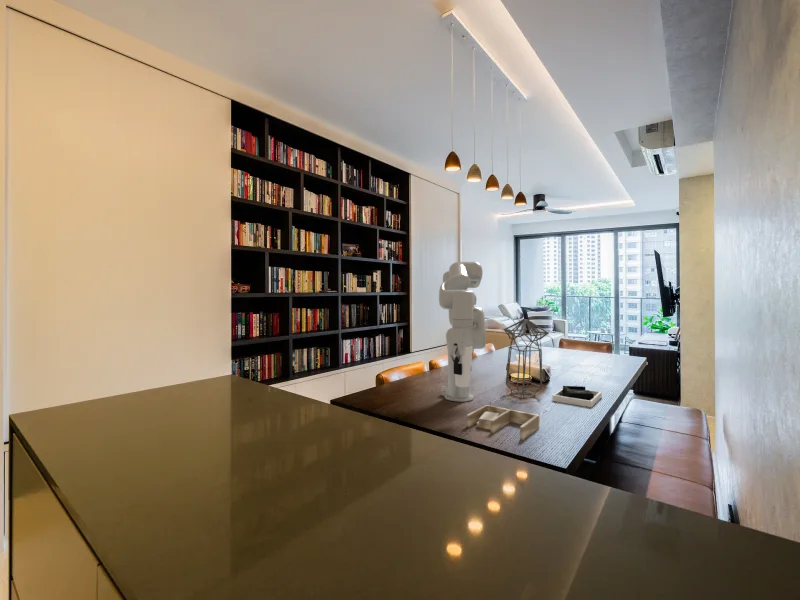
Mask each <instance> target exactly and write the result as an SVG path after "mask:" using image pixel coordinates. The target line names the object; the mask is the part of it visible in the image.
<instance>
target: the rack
mask: <svg viewBox="0 0 800 600" xmlns="http://www.w3.org/2000/svg"><path fill="white" fill-rule="evenodd" d="M485 411H486V412H494V413H499V415H498V416H497V417H495V418H494V419H492V420H491V430H490V433H491V434H495V433H496V432H497V431H499V430H501V429H502V428H503V427H505V426H507V425H508V424H510V423H514V424H517V425H518V424H520V426H519V440H520V441H525V439H527V438H528V437H529V436H531V435H532V434H533V433H534V432H536V430H538V429H539V428H540V414H537V413H532V412H531V413H530V412H526V411H519V410H515V409H510V408H505V407H500V406H495V405H491V404H490V405H489V404H484V405H483V406H482V407H479V408H477V409H475V410H473V411H472V412H470V413H468V414H466V427H467V428H470V427H472V426H475V425H477V422H478V421H479V418H480V417H481V416H482V415H483V414H484V413H485Z"/></svg>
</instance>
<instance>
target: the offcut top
mask: <svg viewBox="0 0 800 600" xmlns="http://www.w3.org/2000/svg"><path fill="white" fill-rule="evenodd" d="M498 415H499V413H494V412H486V411H485V413H484V414H483V415H482V416H481V417H480V418H479V423H480V424H487V425H491V420H492V419H494V418H495V417H497V416H498Z"/></svg>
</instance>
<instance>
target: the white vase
mask: <svg viewBox="0 0 800 600" xmlns="http://www.w3.org/2000/svg"><path fill="white" fill-rule="evenodd" d="M456 354H457V355H459V353H458V352H456ZM457 358H458V359H459V357H457ZM472 362H473V355H472V346H469V347H465V352H464V355H463V356H462V360H461V364H462V375H457V374H455V385H456V386H457V387H469V386H470V385H471V374H472ZM470 387H471V386H470Z"/></svg>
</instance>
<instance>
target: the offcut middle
mask: <svg viewBox="0 0 800 600" xmlns="http://www.w3.org/2000/svg"><path fill="white" fill-rule="evenodd" d="M476 428H480V429H485V430H490V431H491V425H487V424H480V423H479V421H478V422H477V423H476Z"/></svg>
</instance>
